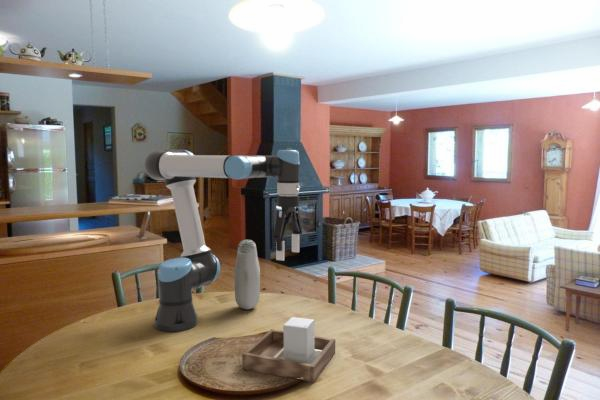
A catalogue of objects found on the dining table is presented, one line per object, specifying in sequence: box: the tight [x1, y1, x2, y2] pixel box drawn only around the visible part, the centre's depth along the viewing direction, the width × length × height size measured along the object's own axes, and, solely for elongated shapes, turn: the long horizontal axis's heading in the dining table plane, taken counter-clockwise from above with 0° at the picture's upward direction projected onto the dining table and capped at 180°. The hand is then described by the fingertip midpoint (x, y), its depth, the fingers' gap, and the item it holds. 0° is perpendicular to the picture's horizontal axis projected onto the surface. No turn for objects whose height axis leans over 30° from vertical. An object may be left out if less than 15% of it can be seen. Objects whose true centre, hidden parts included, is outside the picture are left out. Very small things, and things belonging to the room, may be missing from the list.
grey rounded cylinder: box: [233, 239, 261, 310], centre depth 182 cm, size 10×10×28 cm
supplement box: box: [282, 316, 315, 364], centre depth 133 cm, size 7×7×13 cm
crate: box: [241, 329, 336, 384], centre depth 137 cm, size 22×20×4 cm
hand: (288, 255), depth 158 cm, fingers open, 13 cm apart
